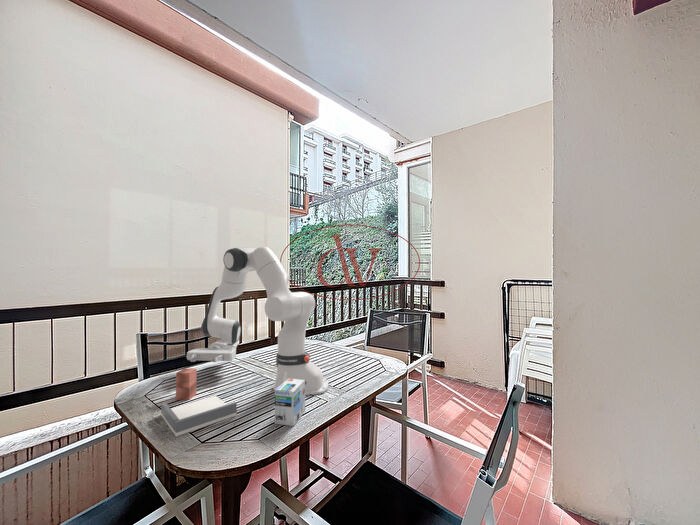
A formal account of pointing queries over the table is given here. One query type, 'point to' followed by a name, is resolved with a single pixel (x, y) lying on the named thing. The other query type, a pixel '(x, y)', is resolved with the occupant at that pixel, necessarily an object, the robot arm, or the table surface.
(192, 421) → the tray
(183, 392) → the brick-red block
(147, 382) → the table surface
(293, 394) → the light bulb box
